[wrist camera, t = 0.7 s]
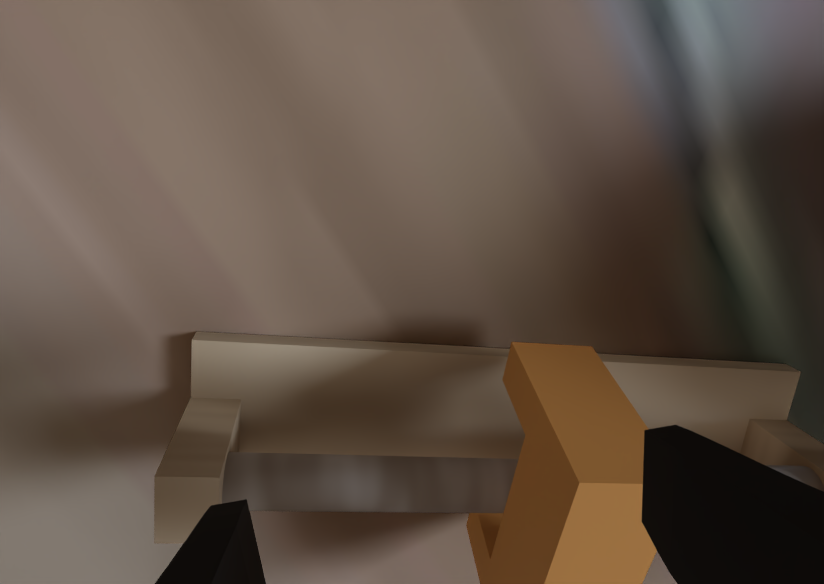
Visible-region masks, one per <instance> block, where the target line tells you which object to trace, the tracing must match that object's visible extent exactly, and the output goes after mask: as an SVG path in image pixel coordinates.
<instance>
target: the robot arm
mask: <svg viewBox="0 0 824 584" xmlns="http://www.w3.org/2000/svg"><path fill="white" fill-rule="evenodd" d="M642 523H643V525H644V527H645V529H646V531H647V533H648V534H649V536H650V538H651V540H652V542H653V544H654V546H655V548H656V549H657V551H658V553H659V555H660V556H661V558H662V560H663V562H664V563H665V565H666V567H667V569H668V570H669V572H670V574H671V575H672V576H673V578H674V579H675V581H676V582H677V584H824V492H823V491H821V490H819V489H816V488H814V487H812V486H810V485H807V484H805V483H803V482H800V481H798V480H796V479H794V478H792V477H789V476H787V475H785V474H783V473H781V472H779V471H776V470H774V469H772V468H770V467H768V466H766V465H763V464H761V463H759V462H757V461H755V460H753V459H751V458H749V457H747V456H744V455H742V454H740V453H738V452H736V451H734V450H732V449H730V448H728V447H725V446H723V445H721V444H719V443H717V442H715V441H713V440H711V439H708V438H706V437H704V436H702V435H700V434H697V433H695V432H693V431H691V430H688V429H686V428H683V427H681V426H678V425H671V426H665V427H659V428H654V429H648V430H644V460H643V492H642ZM155 584H266V582H265V578H264V573H263V569H262V564H261V560H260V556H259V551H258V547H257V542H256V538H255V534H254V529H253V525H252V520H251V516H250V512H249V507H248V503H247V499H245V500H239V501H234V502H228V503H222V504H216V505H211V506H210V507H209V508H208V509H207V511H206V512H205V513H204V515H203V516H202V518H201V519H200V520H199V522H198V523H197V525H196V526H195V528H194V529H193V531H192V532H191V533H190V535H189V536H188V538H187V539H186V541H185V542H184V544H183V545H182V546H181V548H180V549H179V551H178V552H177V554H176V555H175V556H174V558H173V559H172V561H171V562H170V564H169V565H168V566H167V568H166V569H165V571H164V572H163V573H162V575H161V576H160V577H159V579H158V580H157V581H156V583H155Z"/></svg>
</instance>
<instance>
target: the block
mask: <svg viewBox="0 0 824 584" xmlns="http://www.w3.org/2000/svg"><path fill="white" fill-rule="evenodd" d="M502 380H503V383H504V385H505V387H506V390H507V392H508V395H509V397H510V399H511V402H512V404H513V407H514V409H515V411H516V414H517V416H518V419H519V421H520V424H521V426H522V428H523V431H524V433H525V438H524V442H523V445H522V449H521V452H520V456H519V459H518V463H517V467H516V470H515V474H514V477H513V481H512V484H511V488H510V491H509V495H508V499H507V502H506V506H505V509H504V513H469V517H468V521H467V525H466V526H467V530H468V534H469V539H470V543H471V547H472V551H473V555H474V559H475V563H476V568H477V572H478V576H479V580H480V584H642V583H643V580H644V578H645V576H646V574H647V572H648V569H649V567H650V565H651V563H652V561H653V558H654V556H655V554H656V552H657V549H656V548H655V546H654V544H653V542H652V540H651V538H650V536H649V534H648V533H647V531H646V529H645V527H644V525H643V523H642V492H643V460H644V430H648V427H647V426H646V424H645V423H644V422H643V420H642V419H641V417H640V416H639V414H638V413H637V411H636V410H635V408H634V407H633V405H632V404H631V403H630V401H629V400H628V398H627V397H626V395H625V394H624V392H623V391H622V389H621V388H620V387H619V385H618V384H617V382H616V381H615V379H614V378H613V376H612V375H611V373H610V372H609V371H608V369H607V368H606V366H605V365H604V363H603V362H602V360H601V359H600V357H599V356H598V355H597V353H596V352H595V350H594V349H593V347H592V346H575V345H558V344H540V343H523V342H512V343H511V347H510V351H509V355H508V359H507V363H506V367H505V371H504V375H503V379H502Z"/></svg>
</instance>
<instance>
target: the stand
mask: <svg viewBox="0 0 824 584" xmlns="http://www.w3.org/2000/svg"><path fill="white" fill-rule="evenodd" d="M509 351H510V349H506V348H488V347H469V346H451V345H433V344H415V343H397V342H379V341H360V340H342V339H324V338H306V337H288V336H270V335H252V334H233V333H215V332H196V333H195V335H194V337H193V339H192V355H191V398H190V400H189V402H188V405H187V407H186V409H185V411H184V413H183V415H182V418H181V420H180V422H179V424H178V426H177V429H176V431H175V433H174V435H173V437H172V440H171V442H170V444H169V446H168V448H167V450H166V453H165V455H164V457H163V459H162V461H161V464H160V466H159V468H158V470H157V472H156V474H155V515H154V543H184V542H185V541H186V539H187V538H188V536H189V535H190V533H191V532H192V531H193V529H194V528H195V526H196V525H197V523H198V522H199V520H200V519H201V518H202V516H203V515H204V513H205V512H206V511H207V509H208V508H209V507H210V506H211V505H216V504H222V503H228V502H234V501H239V500H245V499H247V503H248V507H249V511H311V512H424V513H504V509H505V506H506V502H507V499H508V495H509V491H510V488H511V484H512V481H513V477H514V474H515V470H516V467H517V463H518V459H519V456H520V452H521V449H522V445H523V442H524V438H525V433H524V431H523V428H522V426H521V424H520V421H519V419H518V416H517V414H516V411H515V409H514V407H513V404H512V402H511V399H510V397H509V395H508V392H507V390H506V387H505V385H504V383H503V380H502V379H503V375H504V371H505V367H506V363H507V359H508V355H509ZM597 355H598V356H599V357H600V359H601V360H602V362H603V363H604V365H605V366H606V368H607V369H608V371H609V372H610V373H611V375H612V376H613V378H614V379H615V381H616V382H617V384H618V385H619V387H620V388H621V389H622V391H623V392H624V394H625V395H626V397H627V398H628V400H629V401H630V403H631V404H632V405H633V407H634V408H635V410H636V411H637V413H638V414H639V416H640V417H641V419H642V420H643V422H644V423H645V424H646V426H647V427H648V429H654V428H659V427H665V426H671V425H678V426H681V427H683V428H686V429H688V430H691V431H693V432H695V433H697V434H700V435H702V436H704V437H706V438H708V439H711V440H713V441H715V442H717V443H719V444H721V445H723V446H725V447H728V448H730V449H732V450H734V451H736V452H738V453H740V454H742V455H744V456H747V457H749V458H751V459H753V460H755V461H757V462H759V463H761V464H763V465H766V466H768V467H770V468H772V469H774V470H776V471H779V472H781V473H783V474H785V475H787V476H789V477H792V478H794V479H796V480H798V481H800V482H803V483H805V484H807V485H810V486H812V487H814V488H816V489H819V490H821V491H823V492H824V444H822V443H821V442H819V441H818V440H816V439H815V438H813V437H812V436H810V435H809V434H807V433H806V432H804V431H803V430H801V429H799V428H798V427H796V426H795V425H793V424H792V423H790V422H789V421H787V418H788V414H789V411H790V408H791V404H792V401H793V397H794V394H795V391H796V387H797V384H798V381H799V377H800V374H801V372H800V371H798V370H796V369H794V368H792V367H791V366H789V365H787V364H778V363H760V362H742V361H724V360H705V359H687V358H669V357H651V356H633V355H615V354H597Z"/></svg>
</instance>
